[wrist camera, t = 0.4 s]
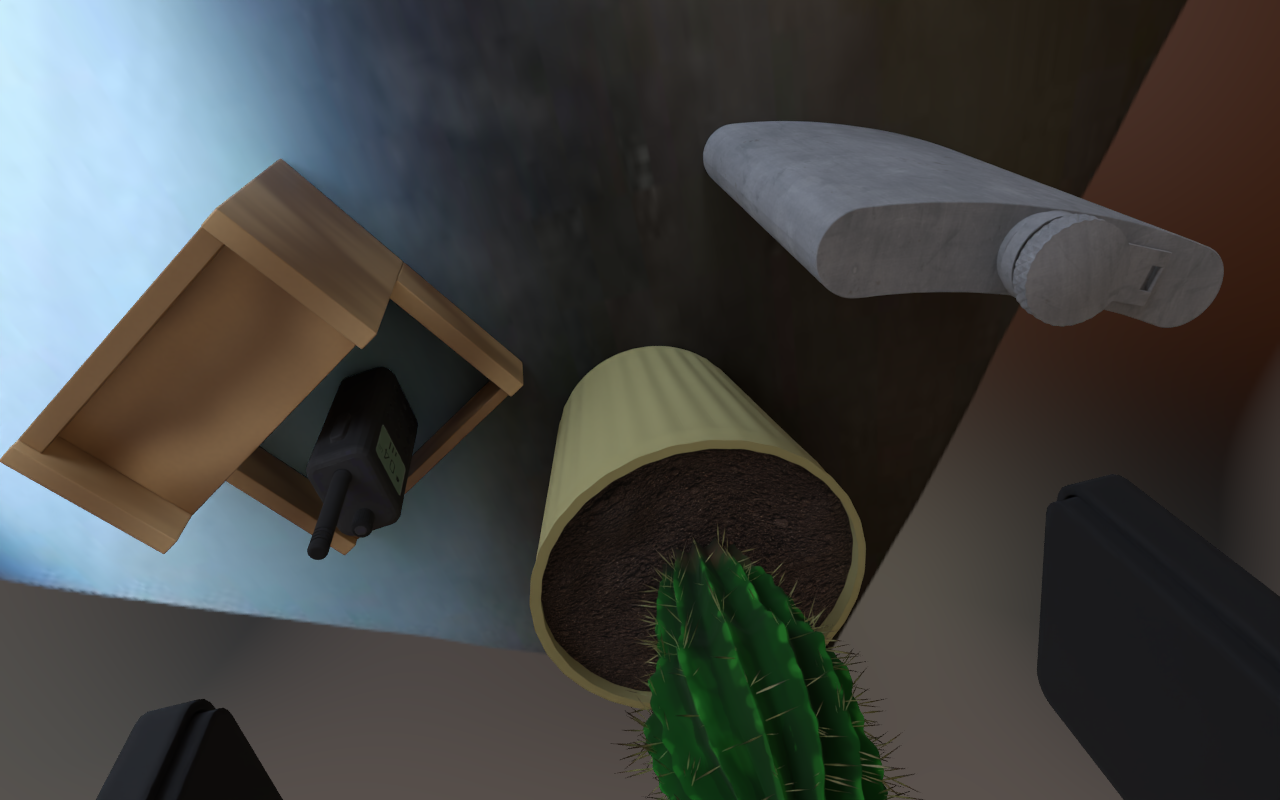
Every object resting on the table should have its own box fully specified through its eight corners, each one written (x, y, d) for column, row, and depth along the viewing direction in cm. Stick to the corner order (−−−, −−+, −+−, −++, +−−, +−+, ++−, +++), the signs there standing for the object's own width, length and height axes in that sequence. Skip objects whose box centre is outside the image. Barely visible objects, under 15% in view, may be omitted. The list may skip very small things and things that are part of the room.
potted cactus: (491, 346, 45) (474, 852, 19) (756, 283, 46) (1095, 687, 20) (557, 556, 53) (610, 1131, 26) (784, 499, 53) (1059, 1005, 27)
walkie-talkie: (422, 429, 47) (390, 603, 34) (367, 447, 47) (313, 628, 34) (387, 358, 45) (339, 514, 32) (329, 377, 45) (257, 541, 32)
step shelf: (102, 362, 43) (-2, 461, 34) (280, 157, 39) (215, 208, 30) (353, 525, 49) (320, 643, 41) (522, 362, 46) (526, 451, 37)
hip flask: (698, 182, 43) (832, 321, 25) (712, 101, 41) (866, 192, 23) (967, 214, 46) (1253, 358, 28) (991, 140, 44) (1312, 246, 27)
